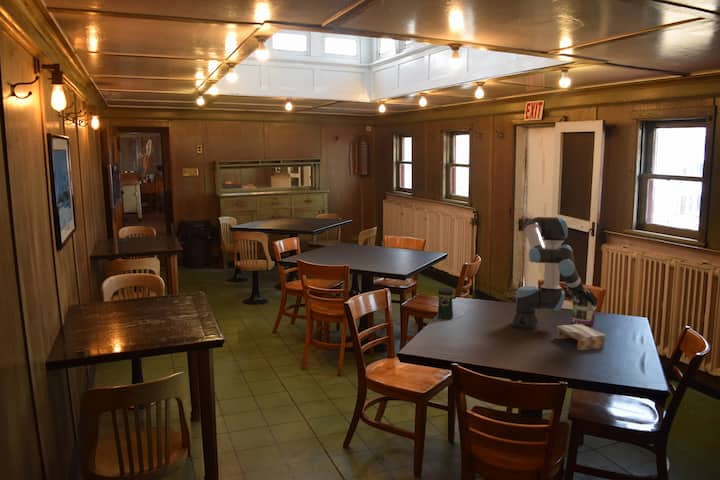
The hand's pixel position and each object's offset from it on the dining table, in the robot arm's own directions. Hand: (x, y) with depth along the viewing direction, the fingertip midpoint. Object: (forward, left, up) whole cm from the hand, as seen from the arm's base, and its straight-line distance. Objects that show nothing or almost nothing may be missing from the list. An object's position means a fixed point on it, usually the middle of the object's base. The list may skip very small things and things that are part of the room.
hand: (585, 306), depth 313 cm
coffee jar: (-56, +58, -20) cm, 83 cm away
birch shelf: (-3, -1, -20) cm, 20 cm away
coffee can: (-3, -1, -6) cm, 7 cm away
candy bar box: (+21, +28, -20) cm, 41 cm away
